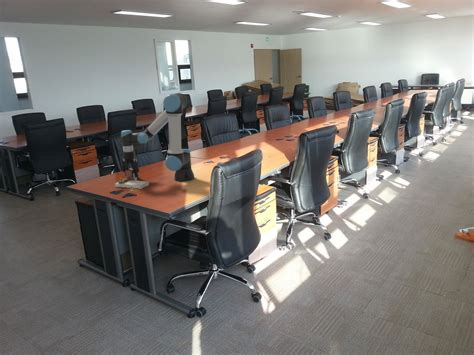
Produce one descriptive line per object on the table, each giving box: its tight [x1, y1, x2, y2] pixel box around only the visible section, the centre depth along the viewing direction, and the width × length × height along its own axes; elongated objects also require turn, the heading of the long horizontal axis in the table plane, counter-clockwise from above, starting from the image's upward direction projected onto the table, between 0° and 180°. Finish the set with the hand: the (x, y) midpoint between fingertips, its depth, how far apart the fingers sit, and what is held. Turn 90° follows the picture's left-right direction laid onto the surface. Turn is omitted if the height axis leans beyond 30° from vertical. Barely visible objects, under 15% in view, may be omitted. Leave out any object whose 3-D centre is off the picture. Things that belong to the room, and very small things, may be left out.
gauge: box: [117, 167, 134, 184], centre depth 295 cm, size 17×5×10 cm, turn 158°
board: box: [114, 180, 149, 190], centre depth 291 cm, size 10×22×3 cm, turn 67°
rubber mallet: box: [133, 143, 142, 179], centre depth 308 cm, size 12×8×30 cm, turn 153°
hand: (131, 181), depth 301 cm, fingers open, 6 cm apart
